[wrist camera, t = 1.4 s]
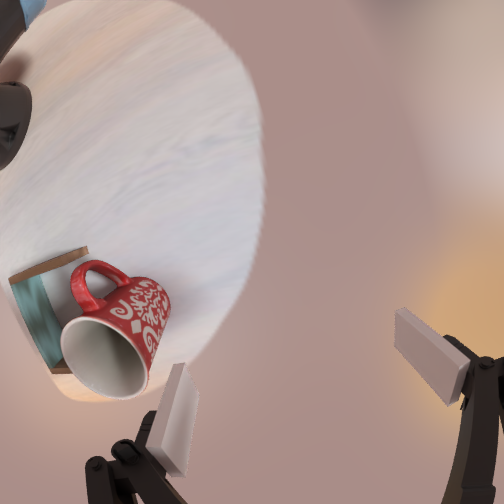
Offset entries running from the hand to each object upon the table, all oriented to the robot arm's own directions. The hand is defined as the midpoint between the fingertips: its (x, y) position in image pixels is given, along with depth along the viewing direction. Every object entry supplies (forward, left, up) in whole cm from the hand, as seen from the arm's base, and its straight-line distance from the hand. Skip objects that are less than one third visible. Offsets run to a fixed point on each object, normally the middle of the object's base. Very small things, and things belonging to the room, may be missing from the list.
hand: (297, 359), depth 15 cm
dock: (-2, -26, -18) cm, 31 cm away
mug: (-2, -16, -18) cm, 24 cm away
